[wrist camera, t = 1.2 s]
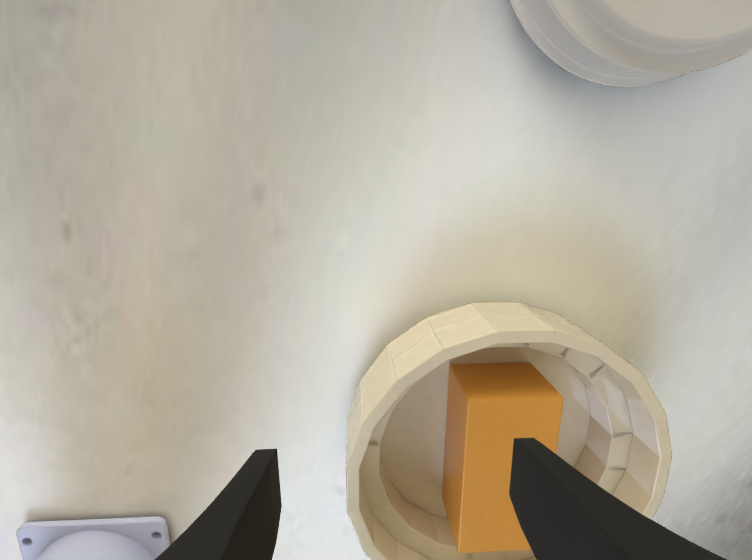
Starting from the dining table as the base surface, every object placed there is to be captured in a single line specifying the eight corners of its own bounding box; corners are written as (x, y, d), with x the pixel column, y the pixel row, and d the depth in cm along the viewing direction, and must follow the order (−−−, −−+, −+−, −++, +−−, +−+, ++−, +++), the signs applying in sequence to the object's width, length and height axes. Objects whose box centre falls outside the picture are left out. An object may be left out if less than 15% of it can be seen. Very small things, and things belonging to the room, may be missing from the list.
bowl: (592, 528, 25) (641, 601, 21) (349, 540, 24) (348, 618, 20) (630, 296, 22) (700, 326, 17) (345, 300, 21) (343, 333, 16)
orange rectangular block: (516, 494, 24) (544, 549, 20) (441, 498, 23) (457, 554, 20) (530, 361, 22) (564, 396, 18) (448, 363, 21) (467, 399, 18)
